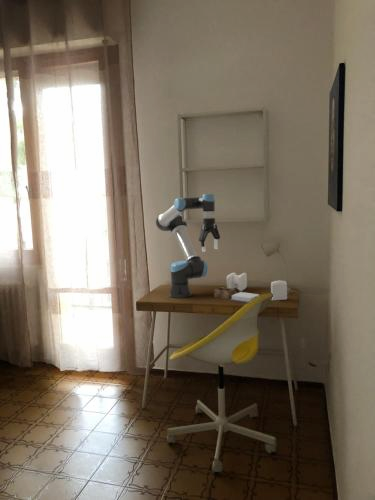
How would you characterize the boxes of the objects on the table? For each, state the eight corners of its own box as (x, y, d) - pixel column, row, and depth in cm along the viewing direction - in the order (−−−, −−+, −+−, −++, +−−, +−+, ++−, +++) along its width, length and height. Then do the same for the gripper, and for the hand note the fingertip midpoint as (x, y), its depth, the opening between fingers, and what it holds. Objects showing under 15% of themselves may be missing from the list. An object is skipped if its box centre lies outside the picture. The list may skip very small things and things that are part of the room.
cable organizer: (240, 292, 285) (240, 276, 283) (226, 291, 289) (225, 275, 288) (247, 288, 298) (246, 272, 297) (233, 287, 303) (233, 271, 301)
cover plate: (231, 299, 265) (231, 295, 265) (240, 295, 274) (240, 291, 273) (250, 302, 256) (250, 298, 256) (259, 298, 265) (259, 294, 264)
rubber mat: (229, 300, 265) (229, 299, 265) (240, 295, 275) (240, 295, 275) (250, 303, 255) (250, 302, 255) (262, 298, 265) (262, 298, 265)
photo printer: (272, 301, 260) (272, 281, 258) (270, 299, 264) (270, 280, 262) (288, 300, 260) (288, 280, 259) (285, 298, 265) (285, 279, 263)
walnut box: (214, 296, 276) (214, 289, 275) (221, 294, 282) (220, 287, 281) (229, 299, 268) (229, 291, 268) (235, 296, 274) (235, 289, 274)
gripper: (202, 219, 255) (203, 253, 258) (224, 216, 274) (225, 248, 277) (192, 219, 260) (193, 252, 262) (215, 216, 279) (216, 247, 281)
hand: (210, 250), depth 269 cm, fingers open, 13 cm apart
